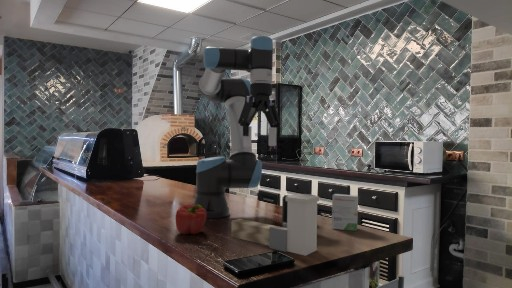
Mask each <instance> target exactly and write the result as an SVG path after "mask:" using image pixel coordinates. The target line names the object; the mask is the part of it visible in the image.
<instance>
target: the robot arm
mask: <svg viewBox="0 0 512 288" xmlns="http://www.w3.org/2000/svg"><path fill="white" fill-rule="evenodd" d="M273 42H274V41H273V39H272V38H271V37H270V36H267V35H265V36H264V35H258V36H257V35H256V36H253V37H252V38H251V40H250V45H249V47H250V49H244V48H229V47H218V46H207V47H205V48H204V50H203V58H202V59H203V67H204V68H205V70H204V73H203V75H202V76H201V77H200V78H199V81H198V90H199V93H200V94H201V95H202V97H204V98H205V99H206V100H208V101H210V102H212V103H220V104H221V103H222V104H224V107H225V109H226V110H228V121H229V133H230V144H231V146H230V147H231V154H230V155H229V157H228V159H227V158H226V156H214V157H213V156H212V157H206V158H201V159H199V160H198V161H197V163H196V170H195V173H196V187H195V188H196V189H195V190H196V191H195V192H196V194H195V199H194V203H193V206H194V205H196V204H198V205H201V206H202V207H203V209H205V210H206V213H207V216H206V219H220V218H225V217H228V216H229V215H230V208H229V207H230V206H228V201H227V198H226V189H246V190H247V189H251V188H252V189H254V188H258V186H259V185H260V182H261V179H262V173H263V172H262V171H263V163H262V160H261V159H257V155H256V154H255V152H253V150H252V149H253V147H252V127H253V126H250V125H251V124H252V122H253V120H254V118H255V117H256V115H257V113H258V112H262V113H263V114H264V116H265V118H266V120H267V124H269V127H268V146H269V147H276V146H277V128H280V126H281V121H280V117H279V113H278V112H279V111H278V108H277V105H276V104H277V103H276V102H277V101H276V99H275V98H272V99H270V97H271V96H272V94H273V85H272V83H273V64H274V63H273V61H274V58H273V55H274V44H273ZM227 70H228V71H244V72H247V73H249V79H247V78H241V77H239V78H237V77H236V78H233V77H224V75H225V74H226V71H227Z"/></svg>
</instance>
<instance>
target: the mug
mask: <svg viewBox="0 0 512 288" xmlns="http://www.w3.org/2000/svg"><path fill="white" fill-rule="evenodd" d="M287 196H288V195H284V196H283V197H282V201H281V203H282V205H281V206H282V207H281V210H282V211H281V221H282V223H284V222H285V223H287V204H288V201H286V197H287Z"/></svg>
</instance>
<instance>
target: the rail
mask: <svg viewBox="0 0 512 288" xmlns="http://www.w3.org/2000/svg"><path fill="white" fill-rule="evenodd" d="M271 226H272V227H277V228H282V229H287V228H283V226H278V225H273V224H268V223H262V222H257V221H254V220H253V221H252V220H247V219H243V218H237V219H234V220H231V229H230V230H231V235H230V236H231V238H236V239H240V240H244V241H249V242H252V243H256V244H259V245H260V244H261V245H264V246H269V238H270V227H271Z"/></svg>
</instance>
